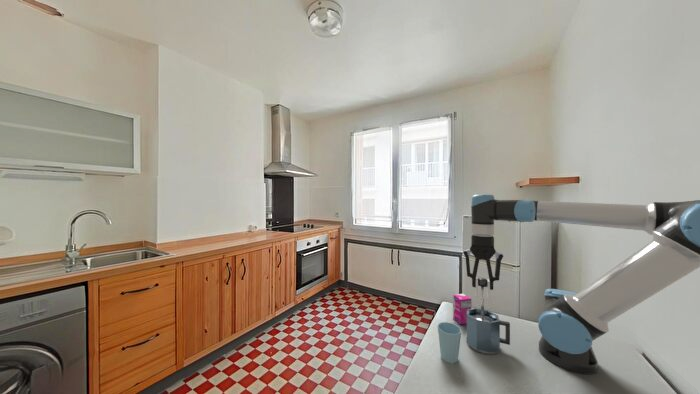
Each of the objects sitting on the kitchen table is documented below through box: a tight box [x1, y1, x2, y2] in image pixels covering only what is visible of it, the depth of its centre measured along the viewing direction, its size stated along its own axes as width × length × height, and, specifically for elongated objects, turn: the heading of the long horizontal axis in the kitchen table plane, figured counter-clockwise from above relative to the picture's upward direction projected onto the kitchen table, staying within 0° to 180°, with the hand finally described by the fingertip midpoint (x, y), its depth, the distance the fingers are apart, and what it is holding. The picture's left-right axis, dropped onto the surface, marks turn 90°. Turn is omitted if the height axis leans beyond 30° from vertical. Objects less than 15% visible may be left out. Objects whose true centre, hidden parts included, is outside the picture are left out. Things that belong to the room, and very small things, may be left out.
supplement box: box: [452, 293, 472, 326], centre depth 106 cm, size 6×6×12 cm
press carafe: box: [466, 307, 511, 356], centre depth 88 cm, size 14×11×12 cm
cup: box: [437, 321, 462, 364], centre depth 81 cm, size 8×8×10 cm
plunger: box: [470, 277, 495, 322], centre depth 88 cm, size 8×8×16 cm
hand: (482, 296), depth 88 cm, fingers closed on plunger, 3 cm apart
